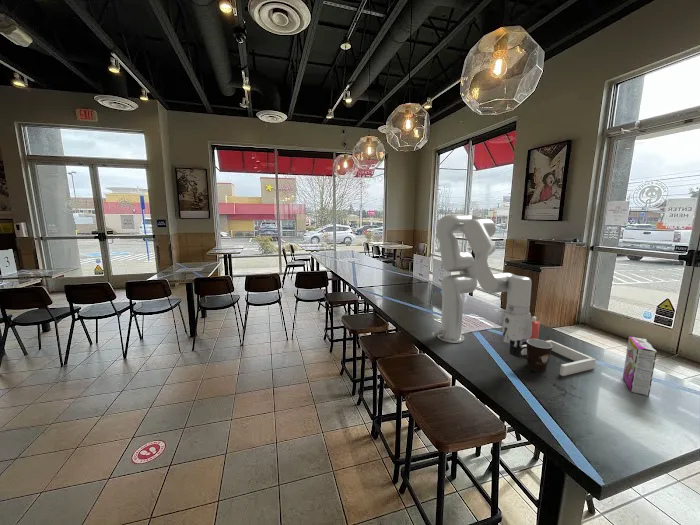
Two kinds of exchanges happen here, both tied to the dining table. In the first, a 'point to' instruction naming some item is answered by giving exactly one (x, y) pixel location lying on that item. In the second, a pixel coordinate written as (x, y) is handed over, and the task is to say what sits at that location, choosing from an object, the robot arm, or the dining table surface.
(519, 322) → the robot arm
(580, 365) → the open u-shaped frame
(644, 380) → the candy bar box
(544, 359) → the coffee mug
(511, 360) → the dining table surface
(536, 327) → the squeeze bottle
